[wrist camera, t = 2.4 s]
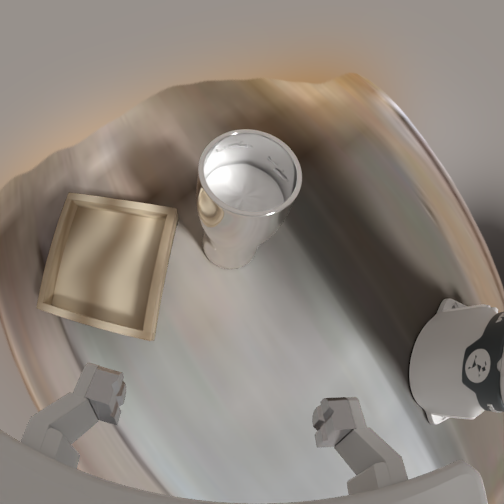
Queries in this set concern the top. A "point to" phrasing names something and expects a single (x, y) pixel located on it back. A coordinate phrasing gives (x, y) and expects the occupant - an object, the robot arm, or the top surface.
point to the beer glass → (244, 193)
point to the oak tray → (109, 264)
